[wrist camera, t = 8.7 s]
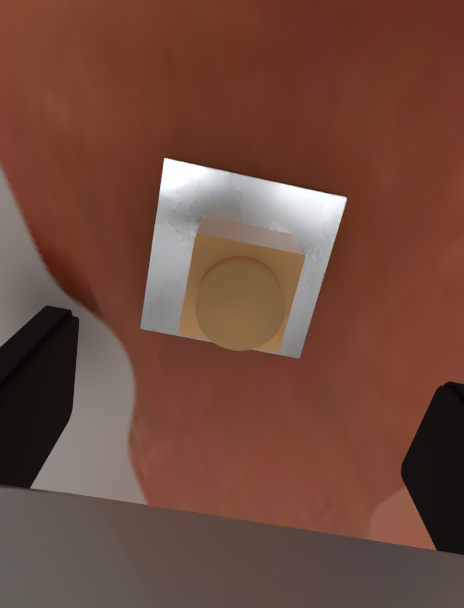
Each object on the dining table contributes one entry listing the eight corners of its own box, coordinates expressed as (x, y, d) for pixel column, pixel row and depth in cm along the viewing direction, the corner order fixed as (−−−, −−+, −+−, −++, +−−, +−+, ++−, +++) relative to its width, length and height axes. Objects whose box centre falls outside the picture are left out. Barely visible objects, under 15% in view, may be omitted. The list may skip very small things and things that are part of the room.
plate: (167, 157, 23) (153, 160, 19) (341, 195, 24) (364, 205, 20) (144, 321, 27) (127, 353, 22) (296, 349, 27) (308, 386, 23)
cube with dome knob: (203, 215, 23) (192, 241, 17) (291, 233, 23) (313, 266, 17) (188, 298, 25) (172, 351, 18) (270, 314, 25) (283, 371, 19)
